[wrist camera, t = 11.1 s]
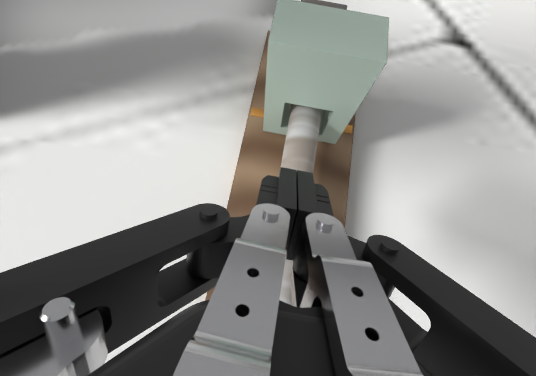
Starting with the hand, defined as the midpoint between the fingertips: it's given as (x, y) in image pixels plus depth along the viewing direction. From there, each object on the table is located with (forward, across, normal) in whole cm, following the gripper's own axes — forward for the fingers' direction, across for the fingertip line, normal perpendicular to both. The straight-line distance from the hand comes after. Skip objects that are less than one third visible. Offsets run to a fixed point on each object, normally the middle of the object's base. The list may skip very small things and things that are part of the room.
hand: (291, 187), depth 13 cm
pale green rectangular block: (+19, -1, +1) cm, 19 cm away
